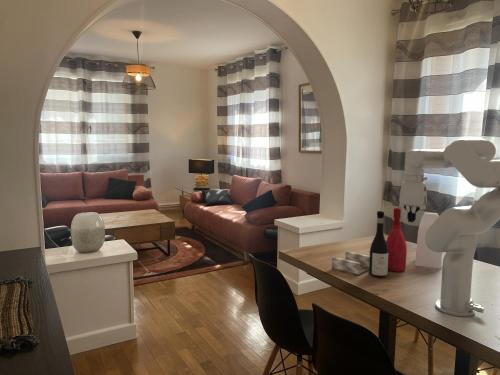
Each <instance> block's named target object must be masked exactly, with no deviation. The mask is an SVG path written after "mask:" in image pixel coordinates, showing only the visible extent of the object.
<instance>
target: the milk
mask: <svg viewBox="0 0 500 375" xmlns="http://www.w3.org/2000/svg"><path fill="white" fill-rule="evenodd" d="M439 216H440V215H439V214H438V213H437V212H424V213H423V215H422V217H421V220H420V223H419V226H418V230H417V240H416V249H415V258H414V266H419V267H424V268H432V269H433V268H434V269H438V270H439V269H441V270H442V265H443V258H442V257H443V252H434V251H432V250H430V249H429V248H428V247H427V245H426V242H425V235H426V232H427V230H428V229H429V227H430V226H431V225H432V224H433V223H434V222H435V220H436V219H437V218H438V217H439Z"/></svg>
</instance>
